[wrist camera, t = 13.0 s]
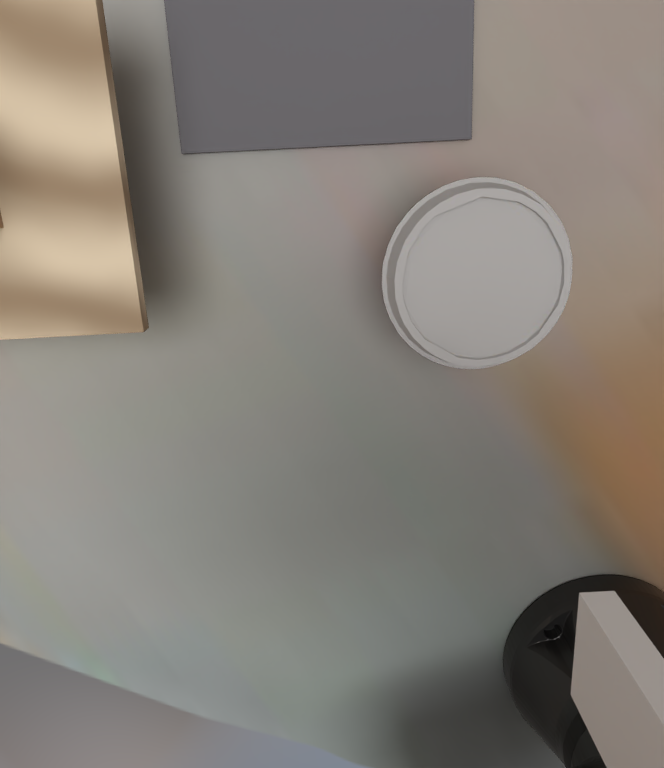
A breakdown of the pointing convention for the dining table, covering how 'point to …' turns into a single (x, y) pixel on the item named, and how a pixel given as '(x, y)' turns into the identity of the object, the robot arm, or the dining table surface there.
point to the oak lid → (63, 178)
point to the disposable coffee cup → (477, 273)
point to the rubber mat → (320, 72)
